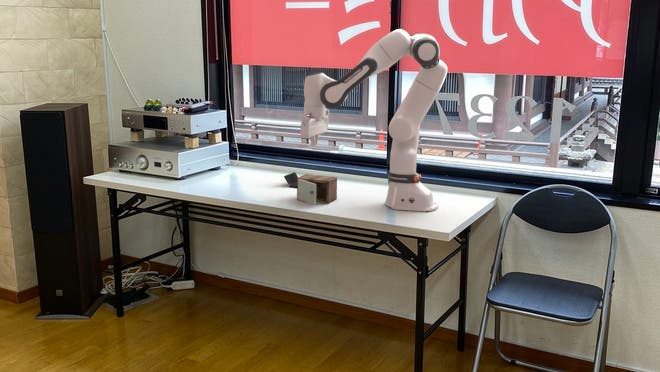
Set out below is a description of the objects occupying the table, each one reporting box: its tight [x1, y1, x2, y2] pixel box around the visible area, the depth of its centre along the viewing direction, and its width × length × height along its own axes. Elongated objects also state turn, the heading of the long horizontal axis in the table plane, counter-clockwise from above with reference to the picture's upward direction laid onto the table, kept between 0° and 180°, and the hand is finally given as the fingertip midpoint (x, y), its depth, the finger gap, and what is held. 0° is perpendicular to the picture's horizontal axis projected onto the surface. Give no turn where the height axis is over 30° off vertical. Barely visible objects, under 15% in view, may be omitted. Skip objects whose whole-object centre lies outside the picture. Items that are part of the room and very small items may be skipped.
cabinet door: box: [298, 179, 317, 206], centre depth 270 cm, size 12×2×9 cm, turn 37°
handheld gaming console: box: [283, 171, 299, 189], centre depth 305 cm, size 12×7×10 cm
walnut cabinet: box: [296, 173, 338, 205], centre depth 277 cm, size 15×9×10 cm, turn 67°
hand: (314, 145), depth 266 cm, fingers closed
